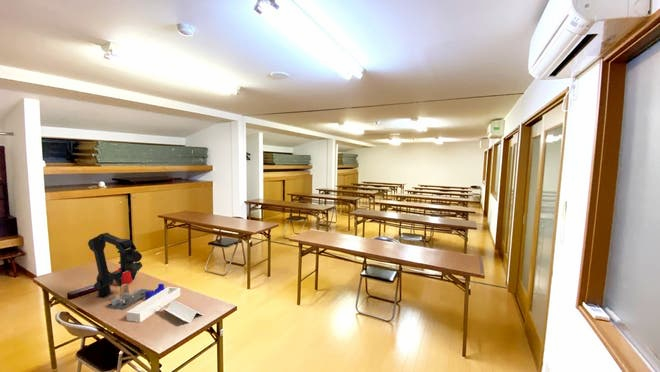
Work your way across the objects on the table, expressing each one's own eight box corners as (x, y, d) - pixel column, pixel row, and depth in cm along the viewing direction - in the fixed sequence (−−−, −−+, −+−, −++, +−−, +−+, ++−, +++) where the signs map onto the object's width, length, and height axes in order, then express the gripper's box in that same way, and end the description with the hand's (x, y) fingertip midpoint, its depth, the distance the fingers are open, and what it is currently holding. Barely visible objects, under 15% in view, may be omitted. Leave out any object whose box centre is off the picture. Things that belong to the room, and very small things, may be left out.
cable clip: (158, 291, 188) (158, 283, 187) (164, 292, 187) (163, 283, 186) (143, 300, 176) (143, 291, 176) (149, 301, 175) (149, 292, 175)
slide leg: (120, 298, 174) (119, 285, 173) (124, 296, 177) (123, 283, 176) (131, 300, 172) (130, 287, 171) (135, 297, 175) (134, 284, 174)
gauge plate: (107, 307, 167) (107, 300, 167) (138, 290, 189) (138, 283, 188) (123, 309, 165) (123, 302, 164) (153, 292, 186) (153, 285, 186)
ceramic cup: (126, 277, 209) (125, 264, 208) (141, 281, 203) (140, 268, 202) (107, 284, 197) (106, 271, 196) (122, 288, 191) (121, 275, 190)
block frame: (126, 320, 154) (126, 312, 154) (168, 293, 185) (168, 286, 184) (140, 322, 153) (139, 313, 152) (180, 295, 183) (180, 288, 182)
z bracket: (173, 312, 170) (180, 303, 173) (197, 326, 157) (204, 315, 160) (158, 306, 162) (165, 296, 165) (181, 319, 149) (189, 308, 152)
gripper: (123, 266, 162) (124, 291, 164) (148, 255, 180) (149, 277, 182) (107, 264, 164) (108, 289, 166) (134, 253, 182) (135, 276, 184)
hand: (126, 282), depth 175 cm, fingers open, 9 cm apart
